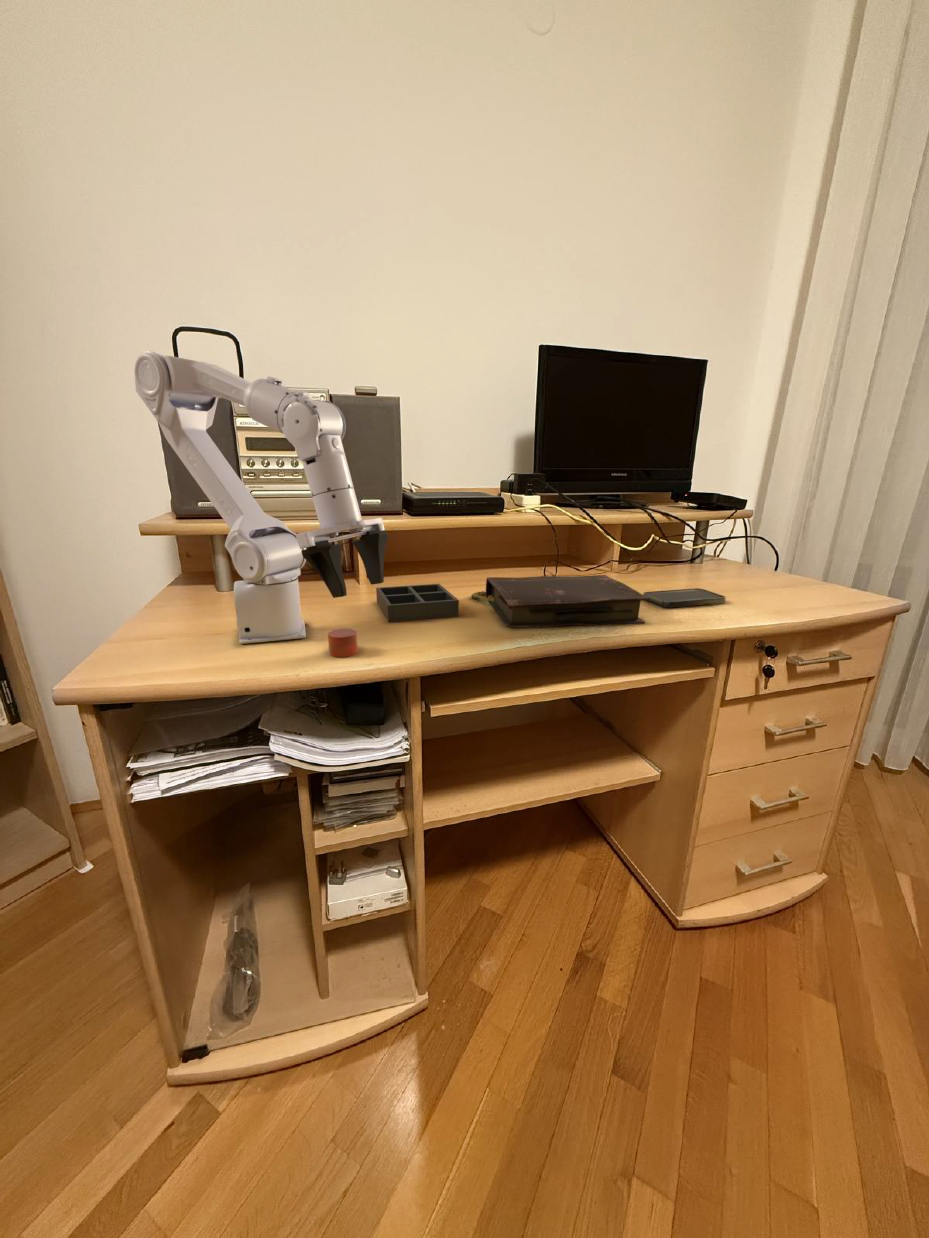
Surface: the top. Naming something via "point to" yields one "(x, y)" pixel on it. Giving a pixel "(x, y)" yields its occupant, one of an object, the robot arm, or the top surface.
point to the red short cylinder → (342, 642)
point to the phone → (684, 597)
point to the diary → (563, 601)
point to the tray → (416, 602)
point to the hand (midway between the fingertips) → (359, 589)
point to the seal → (482, 597)
